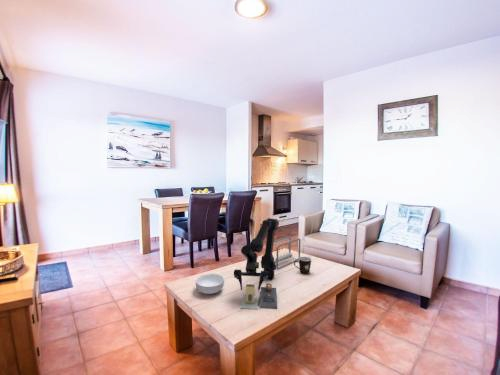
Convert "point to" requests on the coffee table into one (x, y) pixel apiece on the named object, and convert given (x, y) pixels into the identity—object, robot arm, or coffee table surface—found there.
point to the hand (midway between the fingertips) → (249, 290)
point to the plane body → (268, 297)
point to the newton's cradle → (285, 256)
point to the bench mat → (249, 306)
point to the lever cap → (250, 293)
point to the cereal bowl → (210, 283)
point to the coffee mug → (304, 265)
